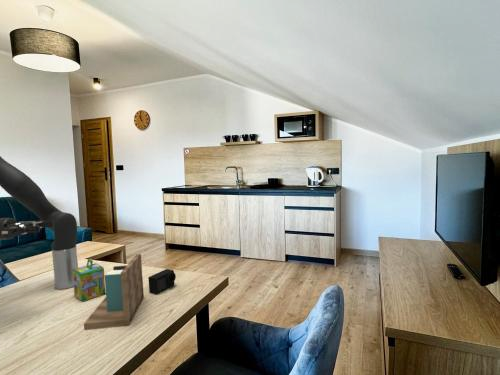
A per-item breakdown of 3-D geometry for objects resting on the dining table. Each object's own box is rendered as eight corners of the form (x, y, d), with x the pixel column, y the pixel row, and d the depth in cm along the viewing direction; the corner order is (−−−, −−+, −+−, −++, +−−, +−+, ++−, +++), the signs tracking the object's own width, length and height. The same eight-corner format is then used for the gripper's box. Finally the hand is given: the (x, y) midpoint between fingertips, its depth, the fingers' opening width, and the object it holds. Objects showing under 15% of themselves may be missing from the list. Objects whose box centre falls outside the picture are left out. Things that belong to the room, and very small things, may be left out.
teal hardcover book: (111, 305, 104) (109, 270, 103) (131, 303, 105) (129, 268, 104) (107, 311, 100) (104, 275, 99) (128, 309, 101) (125, 273, 100)
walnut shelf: (106, 300, 113) (103, 256, 111) (143, 297, 114) (140, 253, 113) (84, 329, 93) (79, 275, 91) (129, 325, 95) (125, 272, 93)
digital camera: (158, 295, 116) (157, 279, 115) (149, 293, 119) (148, 276, 118) (176, 286, 125) (175, 270, 124) (167, 283, 128) (166, 268, 127)
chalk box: (74, 296, 118) (71, 261, 117) (97, 288, 125) (95, 255, 124) (82, 302, 112) (79, 265, 111) (106, 294, 119) (103, 259, 118)
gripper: (-21, 222, 93) (33, 219, 95) (10, 215, 107) (56, 212, 109) (-19, 245, 93) (35, 241, 95) (12, 234, 108) (58, 232, 110)
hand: (46, 226), depth 102 cm, fingers open, 8 cm apart
